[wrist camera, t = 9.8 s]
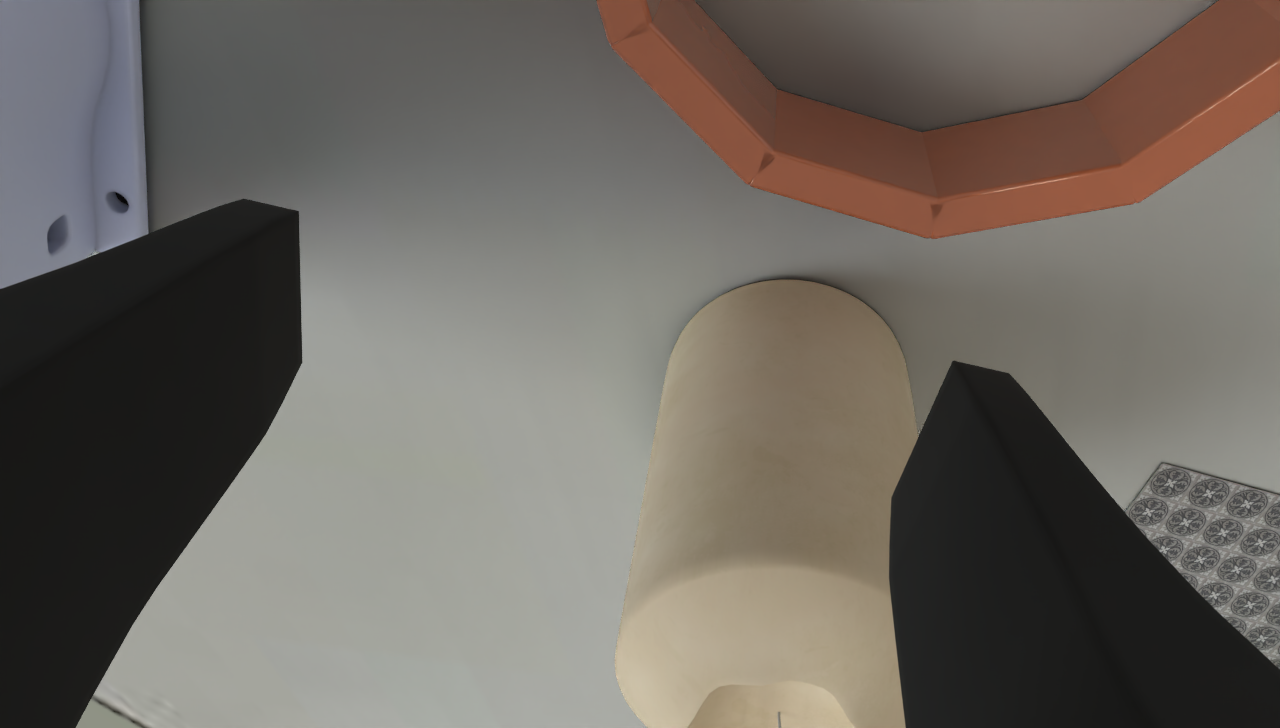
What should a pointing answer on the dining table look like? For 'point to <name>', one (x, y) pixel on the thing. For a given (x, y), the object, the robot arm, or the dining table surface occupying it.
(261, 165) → the dining table surface
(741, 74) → the orange faceted bracelet
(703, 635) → the candle
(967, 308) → the dining table surface
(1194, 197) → the dining table surface
